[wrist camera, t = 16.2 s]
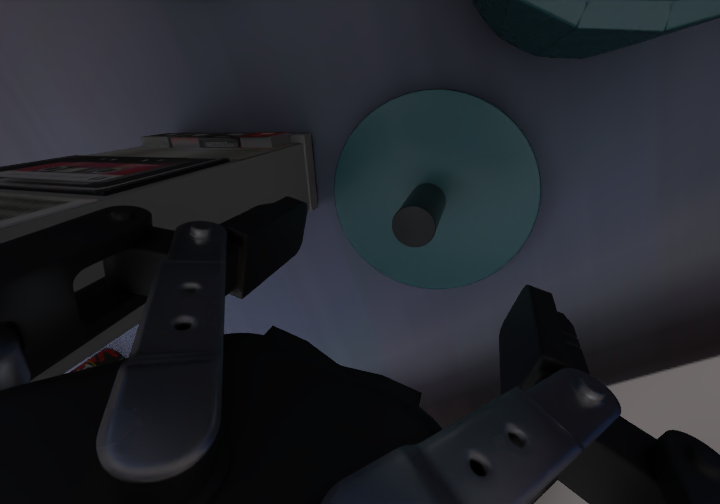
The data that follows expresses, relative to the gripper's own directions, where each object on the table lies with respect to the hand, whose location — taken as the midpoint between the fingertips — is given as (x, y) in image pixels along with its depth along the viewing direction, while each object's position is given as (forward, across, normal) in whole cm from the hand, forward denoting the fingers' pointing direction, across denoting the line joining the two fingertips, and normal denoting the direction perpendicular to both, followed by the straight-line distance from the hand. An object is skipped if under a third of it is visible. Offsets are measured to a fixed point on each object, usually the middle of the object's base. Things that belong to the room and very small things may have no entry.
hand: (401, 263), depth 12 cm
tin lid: (+14, +1, +2) cm, 14 cm away
